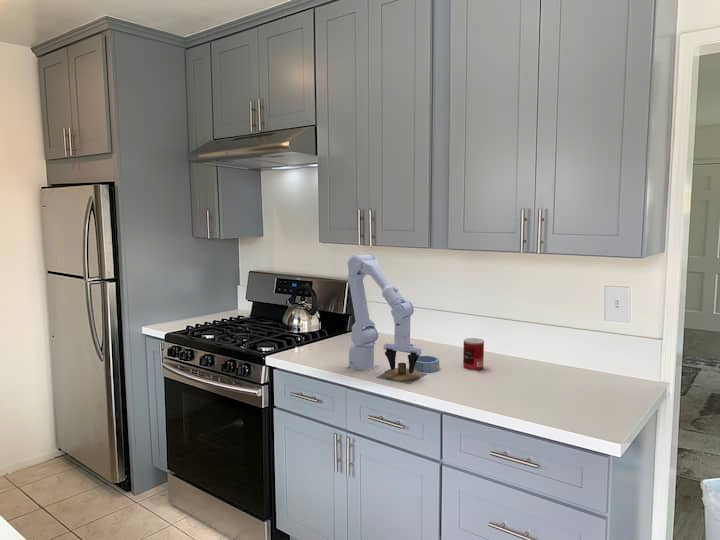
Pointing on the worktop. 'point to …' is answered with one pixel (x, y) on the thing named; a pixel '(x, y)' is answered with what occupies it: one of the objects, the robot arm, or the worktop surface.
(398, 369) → the lid
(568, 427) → the worktop surface
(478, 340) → the canned food
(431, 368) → the bowl
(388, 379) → the mat
